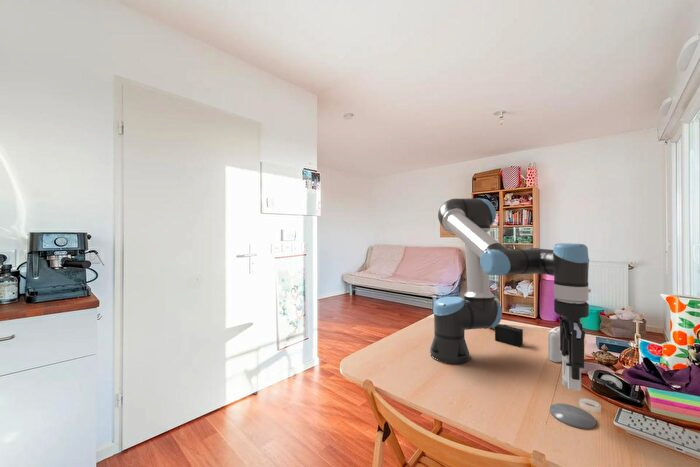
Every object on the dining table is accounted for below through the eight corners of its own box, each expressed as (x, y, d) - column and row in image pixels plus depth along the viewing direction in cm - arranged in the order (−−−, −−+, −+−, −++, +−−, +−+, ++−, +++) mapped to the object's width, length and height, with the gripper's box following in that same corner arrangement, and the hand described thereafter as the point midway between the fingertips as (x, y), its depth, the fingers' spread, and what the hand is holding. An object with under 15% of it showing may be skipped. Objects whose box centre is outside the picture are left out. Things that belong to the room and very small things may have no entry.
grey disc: (554, 423, 77) (554, 420, 77) (546, 402, 86) (546, 400, 86) (602, 432, 73) (602, 430, 73) (588, 410, 82) (588, 408, 82)
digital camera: (524, 344, 130) (524, 328, 130) (519, 347, 126) (519, 331, 126) (500, 337, 138) (500, 323, 138) (495, 340, 134) (494, 325, 134)
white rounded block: (558, 353, 119) (558, 323, 119) (570, 357, 116) (570, 326, 116) (546, 360, 114) (546, 328, 114) (559, 364, 110) (559, 331, 110)
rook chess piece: (575, 392, 77) (575, 361, 77) (557, 384, 81) (557, 355, 81) (585, 388, 78) (585, 358, 78) (567, 380, 82) (567, 352, 82)
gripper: (600, 309, 70) (601, 406, 70) (577, 294, 86) (577, 373, 86) (563, 306, 73) (563, 399, 73) (547, 292, 89) (547, 368, 89)
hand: (571, 384), depth 80 cm, fingers closed on rook chess piece, 4 cm apart
